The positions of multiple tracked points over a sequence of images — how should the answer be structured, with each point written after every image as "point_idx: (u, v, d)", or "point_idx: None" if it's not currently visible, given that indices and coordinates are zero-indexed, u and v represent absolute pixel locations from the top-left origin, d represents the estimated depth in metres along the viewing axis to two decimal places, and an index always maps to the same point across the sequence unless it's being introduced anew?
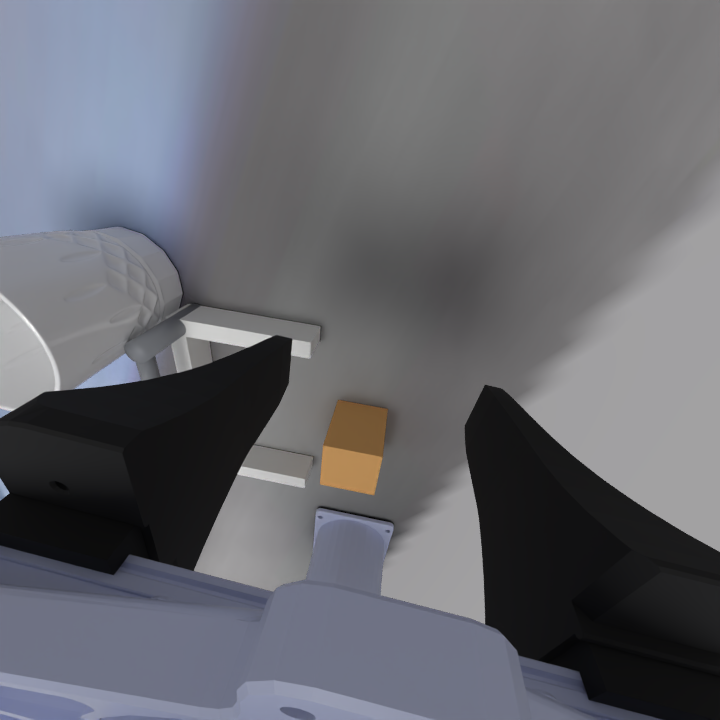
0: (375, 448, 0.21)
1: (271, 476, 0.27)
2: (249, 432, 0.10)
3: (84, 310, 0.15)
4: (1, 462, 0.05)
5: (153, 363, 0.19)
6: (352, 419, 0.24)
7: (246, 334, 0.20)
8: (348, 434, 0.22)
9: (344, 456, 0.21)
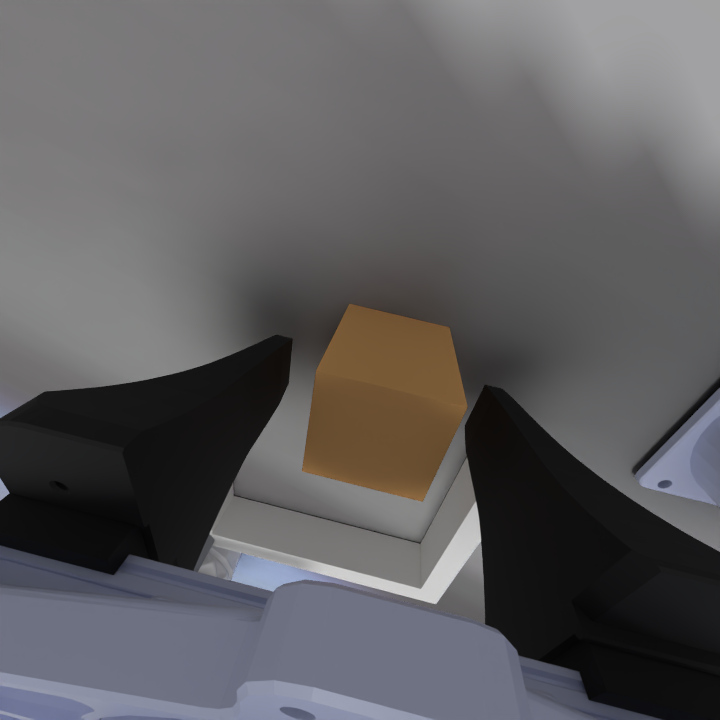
0: None
1: (468, 537, 0.15)
2: (249, 432, 0.10)
3: None
4: (1, 462, 0.05)
5: None
6: None
7: None
8: None
9: (328, 443, 0.10)
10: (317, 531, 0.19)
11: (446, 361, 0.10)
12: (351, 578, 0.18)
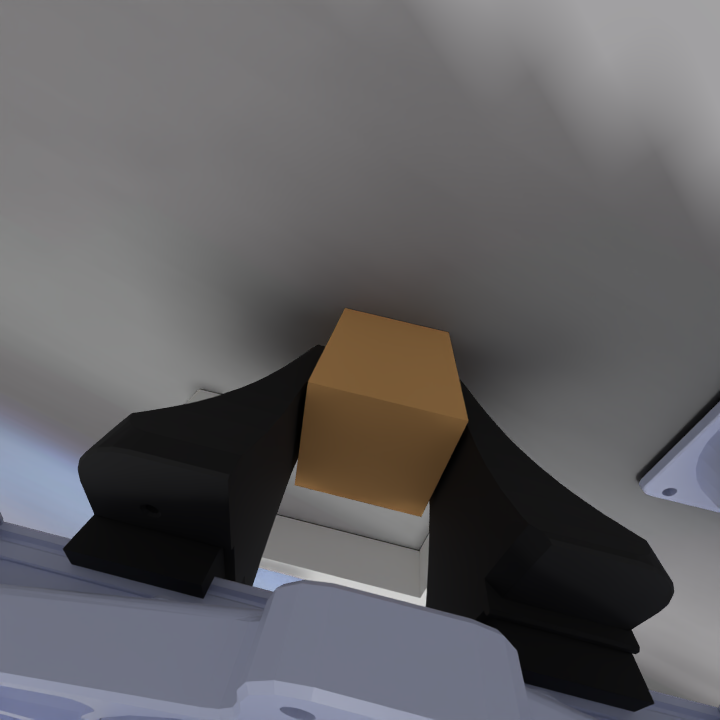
0: None
1: None
2: (297, 444, 0.10)
3: None
4: (93, 486, 0.05)
5: None
6: None
7: None
8: None
9: (322, 456, 0.09)
10: (314, 539, 0.19)
11: (445, 370, 0.10)
12: None
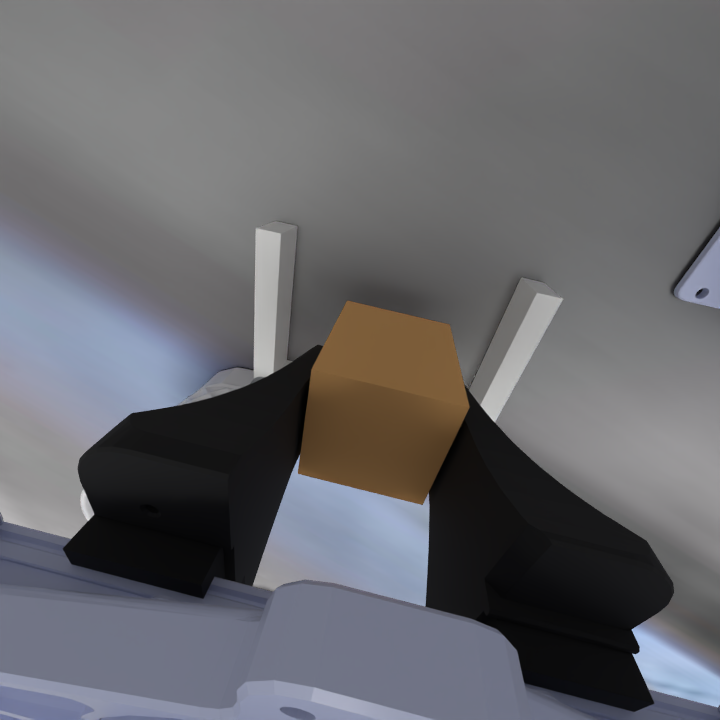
0: None
1: (520, 351, 0.16)
2: (297, 444, 0.10)
3: None
4: (93, 486, 0.05)
5: None
6: None
7: (259, 312, 0.17)
8: None
9: (325, 444, 0.09)
10: None
11: (447, 359, 0.10)
12: None
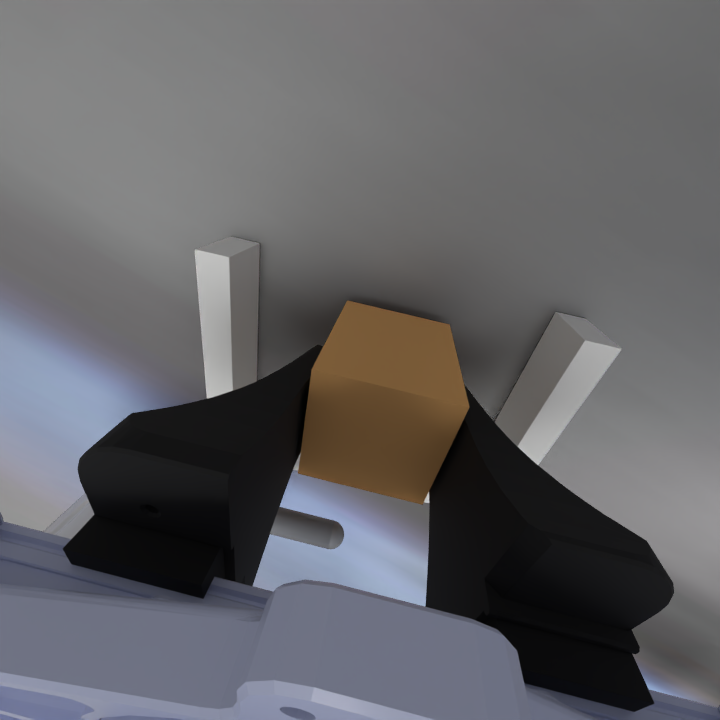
0: None
1: (556, 413, 0.12)
2: (297, 444, 0.10)
3: (65, 535, 0.11)
4: (93, 486, 0.05)
5: None
6: None
7: (209, 356, 0.13)
8: None
9: (325, 444, 0.09)
10: None
11: (447, 359, 0.10)
12: None
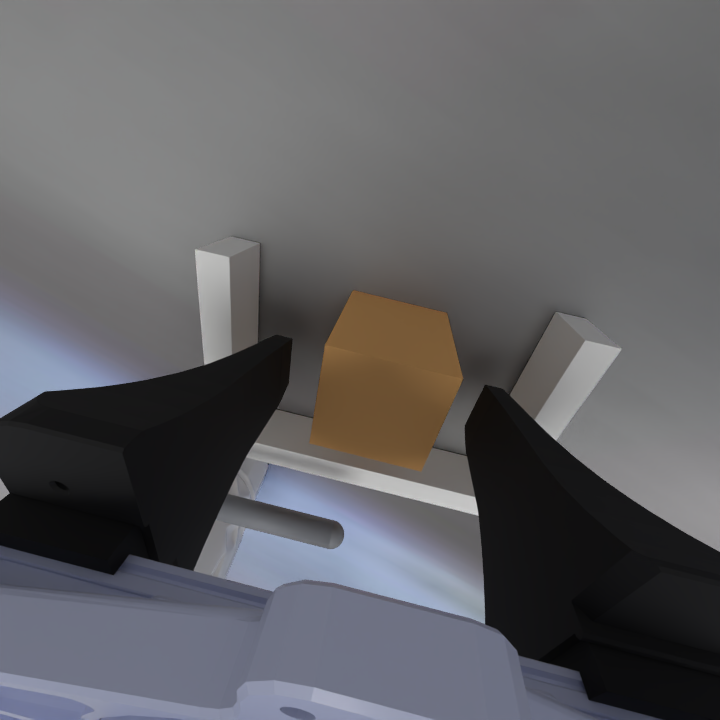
0: None
1: (556, 413, 0.12)
2: (249, 432, 0.10)
3: None
4: (1, 462, 0.05)
5: None
6: None
7: (209, 356, 0.13)
8: None
9: (335, 415, 0.10)
10: None
11: (444, 341, 0.11)
12: (399, 490, 0.15)
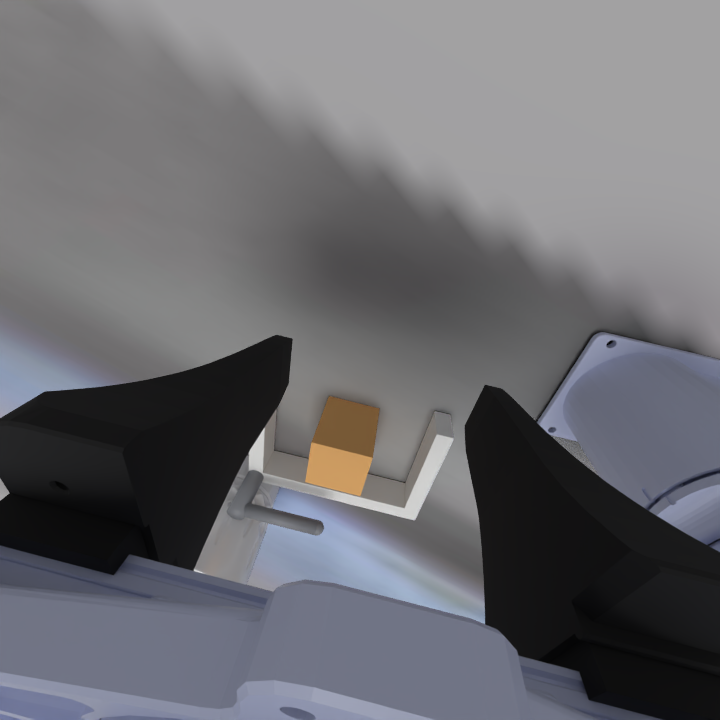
0: None
1: (432, 465, 0.23)
2: (249, 432, 0.10)
3: None
4: (1, 462, 0.05)
5: (250, 507, 0.24)
6: None
7: None
8: None
9: (317, 470, 0.22)
10: None
11: (370, 432, 0.22)
12: (357, 503, 0.27)
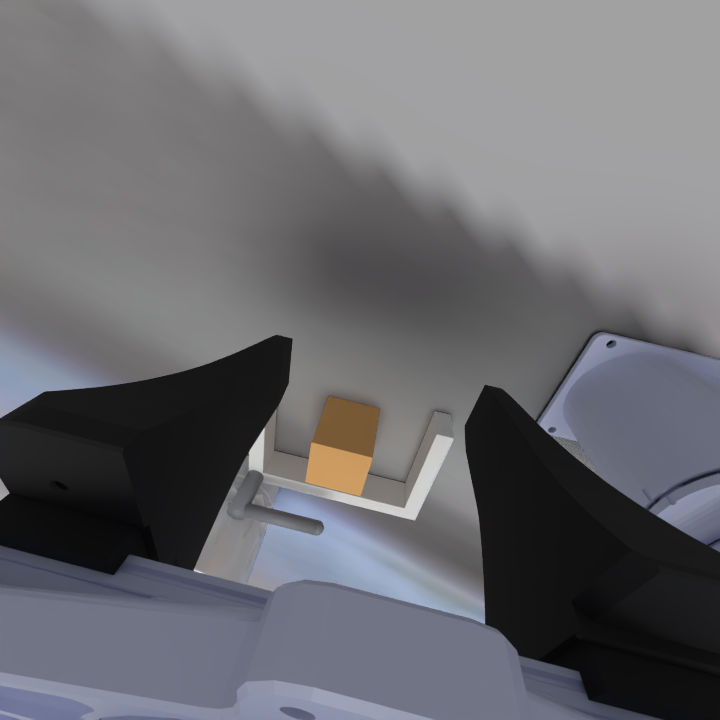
0: None
1: (431, 465, 0.23)
2: (249, 432, 0.10)
3: None
4: (1, 462, 0.05)
5: (250, 507, 0.24)
6: None
7: None
8: None
9: (317, 470, 0.22)
10: None
11: (370, 432, 0.22)
12: (357, 503, 0.27)
